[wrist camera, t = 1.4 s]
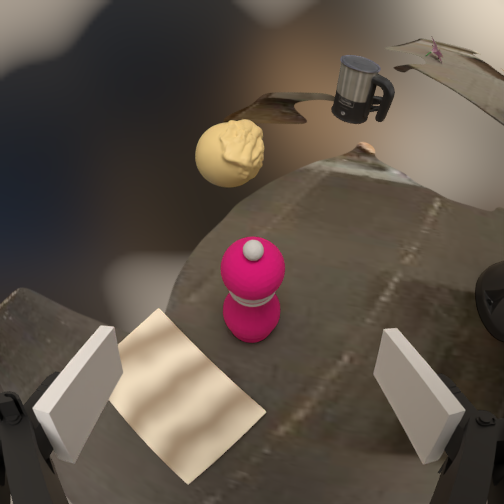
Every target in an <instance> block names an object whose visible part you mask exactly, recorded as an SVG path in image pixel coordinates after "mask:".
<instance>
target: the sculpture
mask: <svg viewBox="0 0 504 504" xmlns="http://www.w3.org/2000/svg"><path fill="white" fill-rule="evenodd" d="M262 138H263V132H262V130H261V128H260V127H258V126H256V125H255V124H254V123H253V122H251V121H249V120H240V121H233V120H231V121H229V122H228V123H221V124H217V125H215V126H213V127H211V128H209V129H208V130H207V131H206V132H205V133H204V134H203V135H202V137H201V138H200V140H199V142H198V145H197V148H196V164H197V167H198V170H199V172H200V173H201V175H202V176H203V177H204V178H205V179H206V180H207V181H209V182H210V183H212V184H214V185H217V186H220V187H227V188H232V187H237V186H240V185H243V184H245V183H246V182H248V181H249V180H250V179H253V178H254V177H255V176H256V175H257V174H258V172H259V169H260V168H261V167H262V166H263V164H262V161H263V160H264V159H263V158H264V156H263V153H264V144H263V141H262Z"/></svg>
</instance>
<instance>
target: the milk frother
mask: <svg viewBox="0 0 504 504" xmlns="http://www.w3.org/2000/svg"><path fill="white" fill-rule="evenodd" d="M340 60H341V68H340V74H339V79H338V85H337V90H336V95H335V100H334V104H333V106H332V113H333V114H334V115H335V116H336V117H337V118H339V119H340V120H342V121H344V122H348V123H353V124H361V123H364V122H365V121H366V120H367V118H368V115H369V112H374V111H378V112H377V115H376V121H378V122H382V121H383V120H384V119H385V117H386V115H387V112H388V110H389V108H390V105H391V102H392V100H393V98H394V93H395V91H394V87H393V85H392V83H391V82H390V81H389V80H388V79H387V78H385V77H383V76H381V75H379V74H378V72H379V71H380V67H379V65H378V64H376V63H375V62H373V61H371V60H369V59H366V58H364V57H360V56H354V55H346V56H342V57H341V59H340ZM376 86H380V87H381V88H382V90H383V92H384V95H383V97H379V96H374V93H375V90H376ZM371 104H372V105H373V104H380V106H372V105H371Z"/></svg>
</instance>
